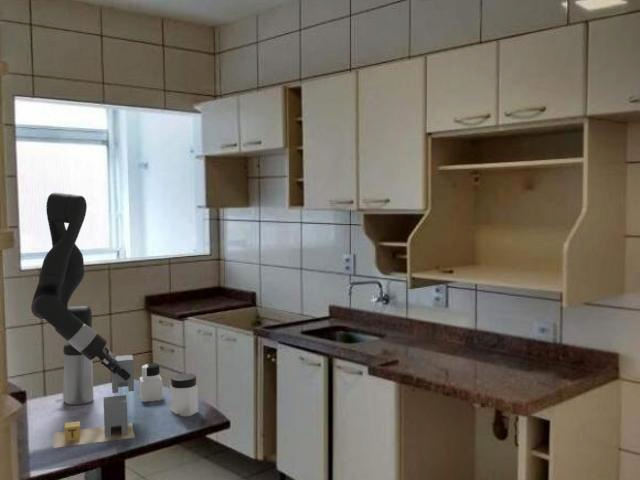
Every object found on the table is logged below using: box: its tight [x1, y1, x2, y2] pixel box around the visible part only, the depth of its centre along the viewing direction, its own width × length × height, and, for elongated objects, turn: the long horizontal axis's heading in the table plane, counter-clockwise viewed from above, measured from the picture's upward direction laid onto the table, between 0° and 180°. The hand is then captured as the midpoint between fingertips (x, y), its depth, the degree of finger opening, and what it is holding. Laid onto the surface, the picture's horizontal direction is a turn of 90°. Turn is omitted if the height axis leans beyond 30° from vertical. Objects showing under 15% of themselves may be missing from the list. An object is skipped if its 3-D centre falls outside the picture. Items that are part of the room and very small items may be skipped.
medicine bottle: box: [139, 363, 164, 403], centre depth 223 cm, size 7×7×12 cm
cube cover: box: [111, 354, 135, 394], centre depth 200 cm, size 6×6×10 cm
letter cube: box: [64, 420, 81, 441], centre depth 185 cm, size 4×4×4 cm
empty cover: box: [103, 394, 129, 438], centre depth 189 cm, size 6×6×10 cm
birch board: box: [52, 423, 136, 449], centre depth 187 cm, size 22×12×1 cm, turn 110°
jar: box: [169, 373, 199, 418], centre depth 208 cm, size 9×8×12 cm
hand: (127, 375), depth 201 cm, fingers closed on cube cover, 6 cm apart
